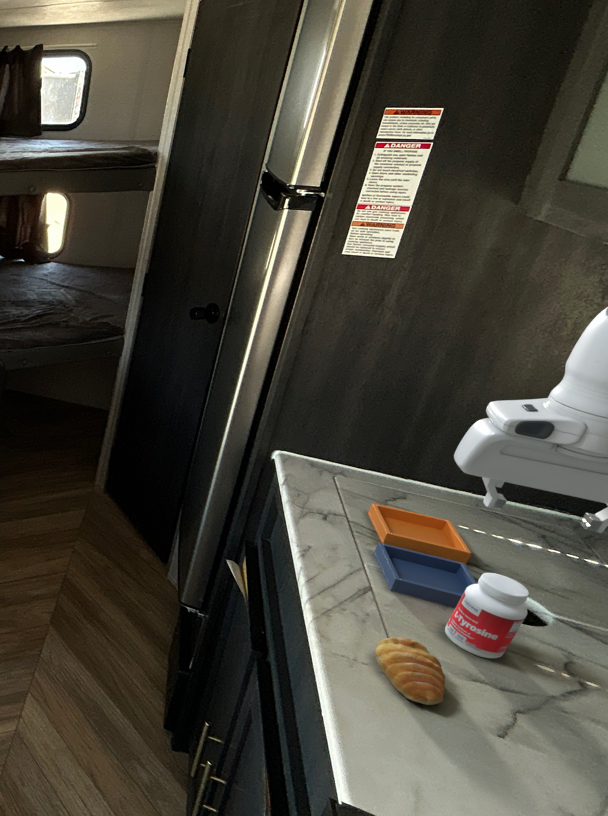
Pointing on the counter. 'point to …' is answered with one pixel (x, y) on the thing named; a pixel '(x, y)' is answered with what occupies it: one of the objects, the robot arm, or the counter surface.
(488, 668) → the counter surface
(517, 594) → the pill bottle
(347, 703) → the counter surface
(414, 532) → the amber tray
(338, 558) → the counter surface
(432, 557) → the blue tray
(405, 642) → the pastry
